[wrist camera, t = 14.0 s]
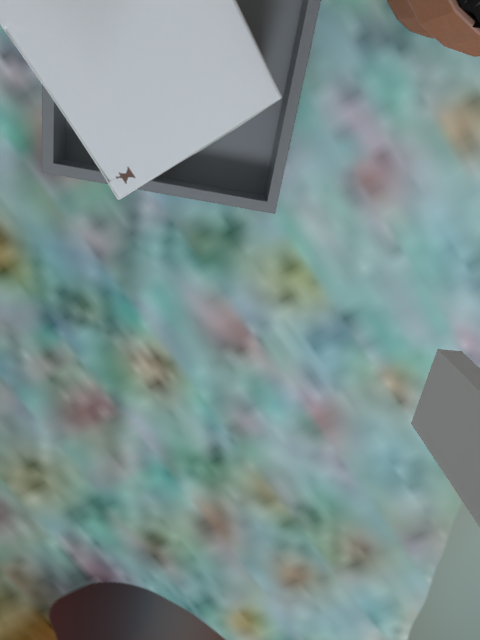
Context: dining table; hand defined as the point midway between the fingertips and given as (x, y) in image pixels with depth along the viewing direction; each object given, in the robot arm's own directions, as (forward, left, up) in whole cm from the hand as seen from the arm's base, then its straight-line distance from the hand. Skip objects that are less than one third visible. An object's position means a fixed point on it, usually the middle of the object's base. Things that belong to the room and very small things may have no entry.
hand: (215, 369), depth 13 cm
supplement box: (-4, +8, -28) cm, 29 cm away
